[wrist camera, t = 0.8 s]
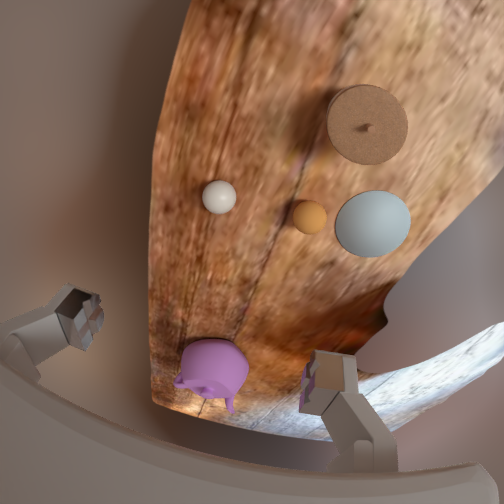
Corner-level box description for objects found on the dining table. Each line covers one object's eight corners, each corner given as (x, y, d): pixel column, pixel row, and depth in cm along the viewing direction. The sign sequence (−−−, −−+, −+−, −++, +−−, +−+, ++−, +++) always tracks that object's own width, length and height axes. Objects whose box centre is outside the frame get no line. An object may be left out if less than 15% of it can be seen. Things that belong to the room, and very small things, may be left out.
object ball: (297, 191, 48) (296, 207, 44) (329, 199, 48) (332, 216, 44) (290, 218, 52) (288, 236, 47) (320, 225, 52) (321, 244, 47)
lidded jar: (330, 151, 43) (336, 176, 36) (315, 85, 37) (318, 93, 30) (396, 142, 40) (415, 165, 33) (385, 75, 34) (406, 83, 27)
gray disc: (350, 180, 45) (350, 181, 45) (422, 203, 45) (422, 204, 45) (325, 247, 54) (325, 247, 54) (391, 263, 54) (391, 264, 54)
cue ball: (209, 172, 48) (199, 186, 44) (241, 178, 48) (234, 193, 44) (206, 200, 52) (197, 216, 48) (236, 206, 52) (230, 223, 48)
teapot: (169, 337, 83) (152, 381, 71) (231, 330, 75) (218, 381, 63) (208, 376, 94) (197, 415, 83) (265, 373, 87) (258, 416, 75)
